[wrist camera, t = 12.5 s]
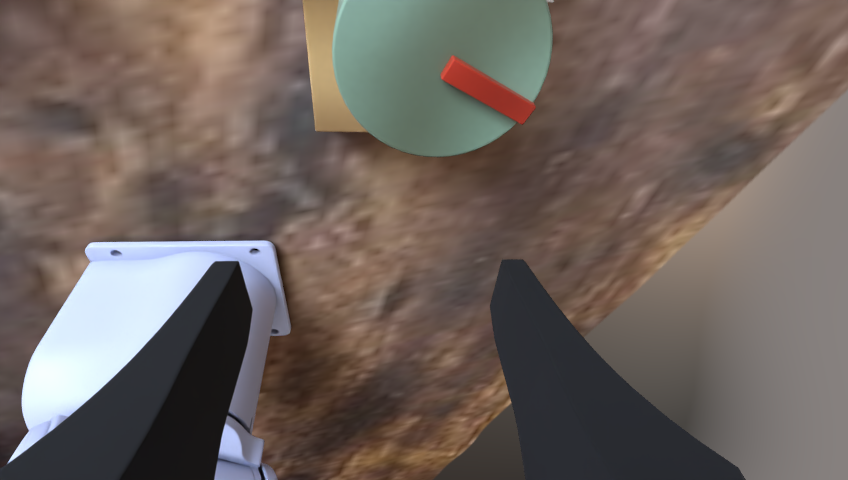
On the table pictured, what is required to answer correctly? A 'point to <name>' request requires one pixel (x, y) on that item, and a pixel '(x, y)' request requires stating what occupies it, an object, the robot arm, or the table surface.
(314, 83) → the tan flat wooden board
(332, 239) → the table surface
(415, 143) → the mint green cylinder
